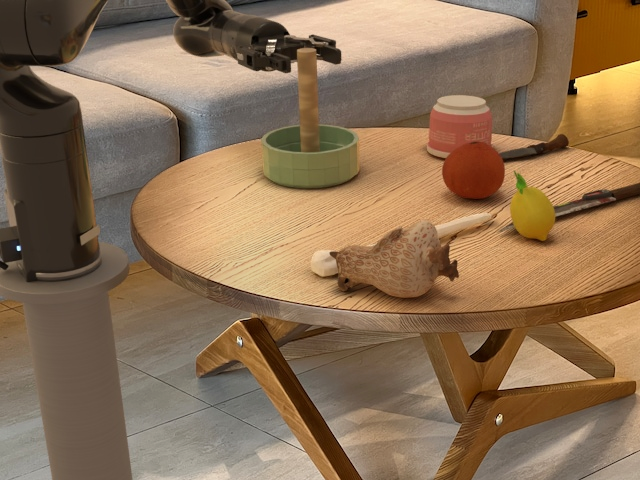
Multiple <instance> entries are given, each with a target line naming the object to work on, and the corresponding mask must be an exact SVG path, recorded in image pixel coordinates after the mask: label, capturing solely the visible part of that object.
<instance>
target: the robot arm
mask: <svg viewBox="0 0 640 480" xmlns="http://www.w3.org/2000/svg"><path fill="white" fill-rule="evenodd" d="M109 1H110V0H0V157H1V162H2V170H3V174H4V181H5V187H6V188H5V189H4V190H3V195H4V198H5V199H4V201H5V205H6V212H7V218H8V223H9V226H7V227H1V228H0V259H1V260H2V261H3V262H2V261H1V260H0V268H2V269H4V270H6V269H7V268H8V266H9V265H7V264H6V263H7V262H13V261H16V265H17V267H18V268H19V271H20V273H21V274H22V275H23V277H24V279H25V281H26V282H34V281H46V282H53V281H65V280H70V279H75V278H79V277H82V276H85V275H87V274H89V273H91V272H93V271H95V270H96V269H97V268H98V267H99V266H100V265H101V263H102V257H101V251H100V246H99V242H100V241H99V235H100V234H101V228H100V224H98V225H97V219H96V211H95V204H94V197H93V189H92V181H91V173H90V167H89V160H88V152H87V144H86V137H85V129H84V122H83V121H84V120H83V113H82V112H83V111H82V105H81V103H80V100H79V99H78V98H77V96H76V95H74V94H73V93H71V92H69V91H67V90H65V89H62V88H60V87H57V86H55V85H53V84H51V83H48V82H47V81H46V80H44V79H42V78H41V77H40V76H39V75H37V74H36V73H35V72H34V71H33V69H32V68H31V67H59V66H64V65H68V64H70V63H72V62H73V61H74V60H75V59H77V57H78V56H79V55H80V54H81V53H82V51H83V49H84V47H86V44H87V42H88V40H89V39H90V36H91V33H92V32H93V30H94V27H95V25H96V23H97V21H98V19H99V17H100V14H101V13H102V11H103V10H104V8H105V7H106V5H107V3H108V2H109ZM165 2H166V4H167V5H168V7H169V9H170V10H171V11H172V12H173V13H174V14H175V15H176V16H178V17H179V18H178V19H176V21H175V22H174V25H173V29H172V35H173V39H174V41H175V43H176V44H177V45H178V47H179V48H180V49H181V50H183V51H184V52H185V53H187V54H189V55H192V56H194V57H198V58H215V57H224V56H226V57H229V58H231V59H233V60H235V61H236V62H237V65H239V66H242V67H244V68H246V69H249V70H251V71H253V72H259V71H262V72H265V73H266V72H268V73H271V72H275V71H277V72H280V73H283V74H290V73H292V64H294V63H297V50H298V49H301V48H313V49H316V53H317V61H323V62H326V63H329V64H332V65H335V66H337V65H340V64H341V63H342V61H343V59H342V50H341V49H340V48H337V40H335V39H331V38H328V37H324V36H321V35H316V34H309V35H308V37H299V36H298V37H297V35H292V34H291V33H290V32H289V31H288V30H287V28H286V27H285V25H283V24H282V23H280V22H278V21H274V20H271V19H268V18H264V17H261V16H258V15H254V14H245V13H241V12H239V11H237V10H233V7H232V6H231V4H229V2H228V1H226V0H165Z"/></svg>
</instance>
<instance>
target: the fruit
mask: <svg viewBox="0 0 640 480" xmlns="http://www.w3.org/2000/svg"><path fill="white" fill-rule="evenodd" d="M499 153H500V152H499V151H497V150H496V149H495V148H494V146H493V147H491V146H489V145H488V144H486V143H485V142H479V141H474V142H470V143H467V144H463V145H461V146H460V147H458V148H456V149H455V150H453V151H452V152H451V153H450V154H449V155H448V156H447V158H444V162H443V163H442V168H441V174H442V179H443V182H444V184H445V186H446V188H447V189H448V190H449V191H450V192H452V193H453V194H455V195H456V196H458V197H461V198H464V199H473V200H482V199H486V198H488V197H490V196H492V195H493V194H495V193H496V192H497V191H498V190H499V189H500V188H501V187H502V185H503V183H504V180H505V176H506V167H505V163H504V159H502V157H501V156H500V154H499Z"/></svg>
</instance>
